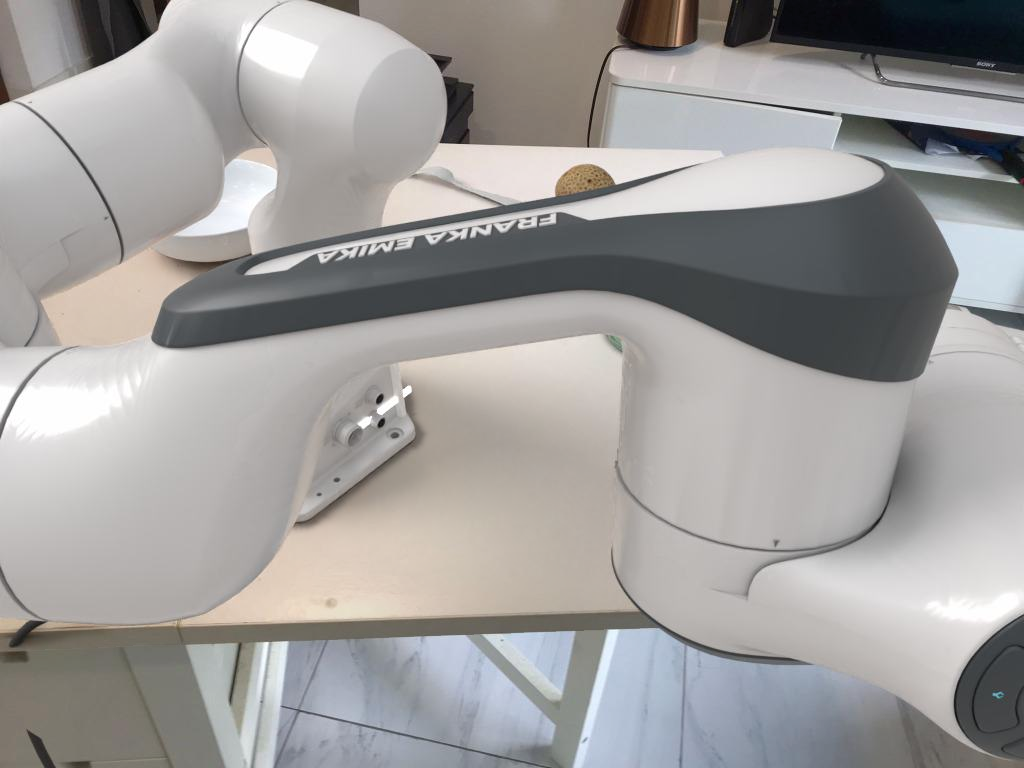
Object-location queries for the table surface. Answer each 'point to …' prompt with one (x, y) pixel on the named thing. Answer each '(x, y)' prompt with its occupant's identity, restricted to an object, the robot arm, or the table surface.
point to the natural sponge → (583, 179)
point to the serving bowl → (224, 217)
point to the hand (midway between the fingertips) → (865, 298)
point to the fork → (448, 176)
